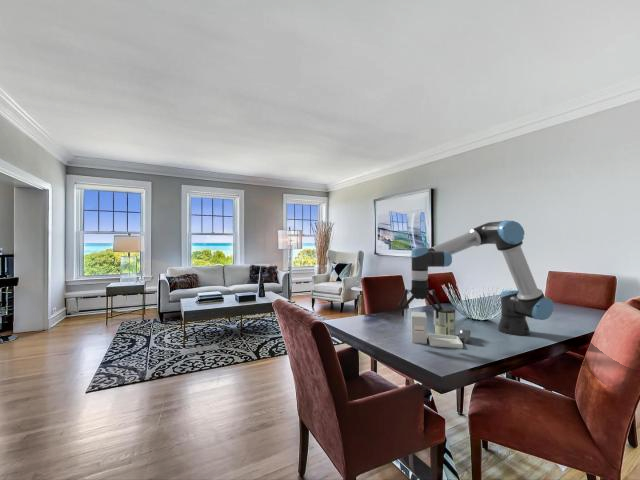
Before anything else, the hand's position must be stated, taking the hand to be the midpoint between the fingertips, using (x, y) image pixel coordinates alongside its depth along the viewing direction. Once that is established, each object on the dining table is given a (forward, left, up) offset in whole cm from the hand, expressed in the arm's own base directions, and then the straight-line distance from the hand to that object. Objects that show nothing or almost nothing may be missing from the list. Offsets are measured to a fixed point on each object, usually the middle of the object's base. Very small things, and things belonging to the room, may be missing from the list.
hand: (419, 324), depth 150 cm
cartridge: (-22, -13, -11) cm, 28 cm away
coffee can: (-14, -24, -11) cm, 29 cm away
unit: (0, -11, -11) cm, 15 cm away
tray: (-12, -10, -11) cm, 19 cm away
